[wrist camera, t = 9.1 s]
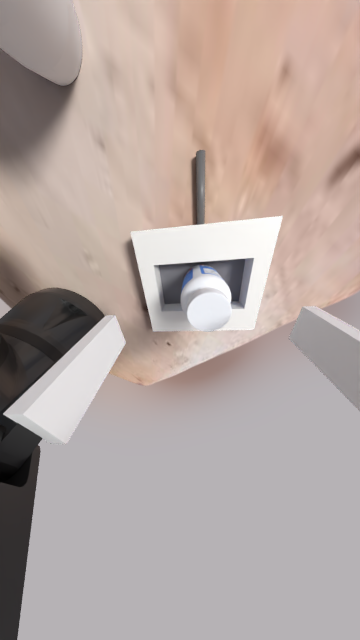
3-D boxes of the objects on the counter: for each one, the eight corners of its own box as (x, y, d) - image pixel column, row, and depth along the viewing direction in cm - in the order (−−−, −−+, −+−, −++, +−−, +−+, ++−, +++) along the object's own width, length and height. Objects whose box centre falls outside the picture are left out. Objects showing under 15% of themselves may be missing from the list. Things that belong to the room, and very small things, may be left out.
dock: (157, 322, 25) (153, 331, 22) (125, 166, 15) (112, 151, 12) (247, 319, 23) (253, 329, 21) (284, 141, 13) (307, 117, 10)
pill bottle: (190, 304, 22) (189, 343, 14) (177, 272, 20) (166, 298, 11) (223, 292, 21) (244, 328, 12) (214, 257, 18) (232, 273, 10)
